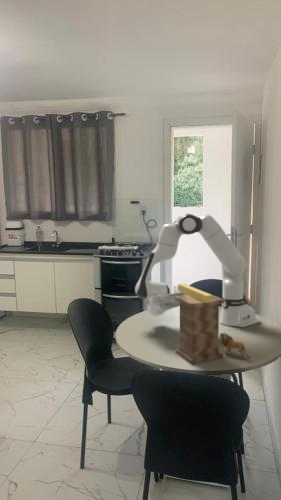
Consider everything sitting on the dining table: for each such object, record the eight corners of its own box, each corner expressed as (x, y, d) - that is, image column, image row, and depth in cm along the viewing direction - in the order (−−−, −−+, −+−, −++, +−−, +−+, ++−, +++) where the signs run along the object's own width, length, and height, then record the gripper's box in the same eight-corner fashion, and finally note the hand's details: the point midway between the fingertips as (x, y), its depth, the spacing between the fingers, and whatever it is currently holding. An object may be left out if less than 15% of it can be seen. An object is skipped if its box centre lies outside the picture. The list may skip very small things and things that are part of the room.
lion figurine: (216, 353, 175) (216, 333, 174) (222, 349, 179) (222, 330, 178) (247, 361, 166) (248, 341, 165) (252, 357, 170) (253, 337, 169)
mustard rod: (183, 289, 185) (183, 283, 185) (212, 302, 163) (212, 295, 163) (178, 290, 184) (178, 284, 184) (205, 302, 162) (206, 295, 162)
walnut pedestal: (205, 346, 183) (205, 292, 180) (223, 357, 170) (223, 299, 167) (175, 352, 177) (174, 296, 173) (191, 364, 164) (191, 304, 161)
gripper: (144, 298, 200) (154, 290, 188) (179, 294, 208) (191, 285, 196) (147, 310, 198) (157, 303, 186) (182, 305, 205) (194, 297, 194)
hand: (175, 294), depth 191 cm, fingers open, 8 cm apart
